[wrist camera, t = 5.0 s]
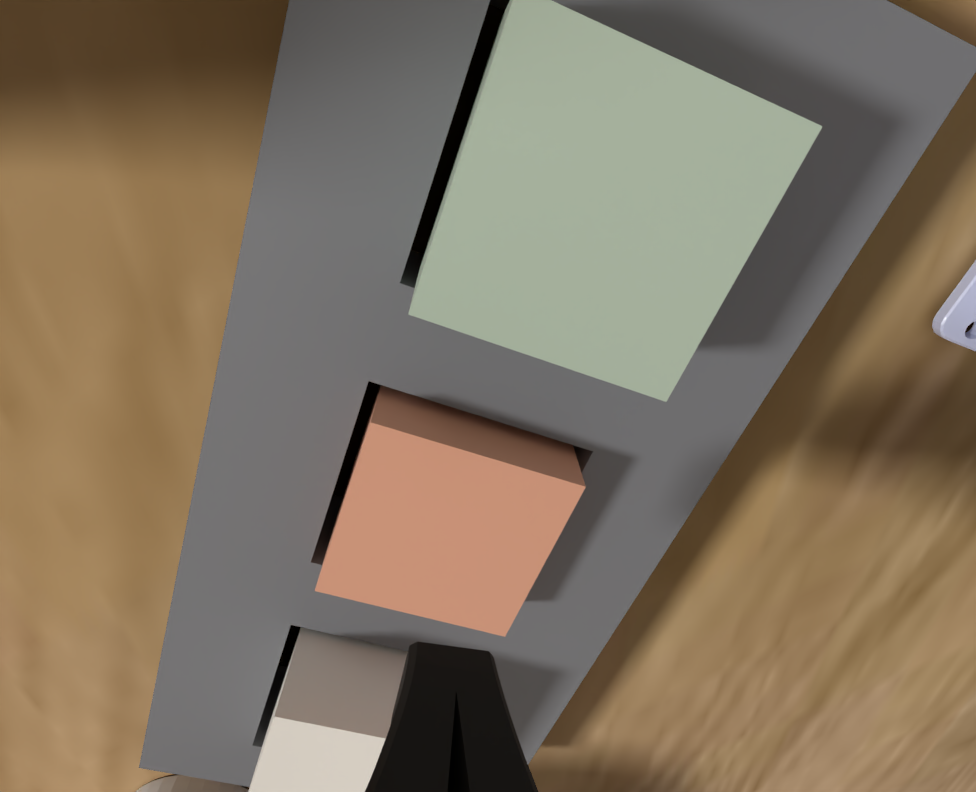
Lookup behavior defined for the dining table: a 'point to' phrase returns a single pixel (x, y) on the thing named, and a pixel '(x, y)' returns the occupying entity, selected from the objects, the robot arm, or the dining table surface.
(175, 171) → the dining table surface
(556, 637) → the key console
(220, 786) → the coffee cup
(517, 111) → the sage key
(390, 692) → the offwhite key
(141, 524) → the dining table surface
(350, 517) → the terracotta key
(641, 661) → the dining table surface
